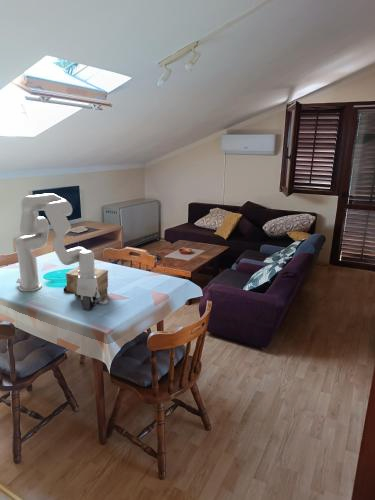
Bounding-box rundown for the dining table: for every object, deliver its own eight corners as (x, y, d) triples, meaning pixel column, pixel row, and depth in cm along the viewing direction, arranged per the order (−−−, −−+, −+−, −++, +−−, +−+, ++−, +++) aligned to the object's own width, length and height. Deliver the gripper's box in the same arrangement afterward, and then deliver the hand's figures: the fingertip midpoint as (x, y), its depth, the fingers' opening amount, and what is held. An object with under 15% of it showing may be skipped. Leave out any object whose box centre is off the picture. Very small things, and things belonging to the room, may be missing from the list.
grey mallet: (83, 308, 187) (82, 296, 185) (96, 299, 199) (95, 287, 197) (89, 310, 186) (89, 297, 184) (102, 300, 198) (102, 288, 196)
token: (97, 304, 195) (96, 301, 194) (102, 300, 199) (102, 298, 199) (104, 306, 193) (104, 303, 193) (110, 302, 198) (109, 299, 197)
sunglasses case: (75, 294, 205) (70, 284, 205) (67, 298, 208) (61, 288, 208) (93, 283, 221) (88, 274, 221) (85, 287, 224) (80, 277, 224)
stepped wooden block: (67, 298, 200) (65, 273, 195) (80, 289, 212) (79, 266, 207) (96, 304, 195) (95, 278, 190) (108, 294, 207) (108, 270, 202)
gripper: (68, 274, 182) (70, 307, 187) (97, 279, 177) (99, 312, 183) (77, 269, 189) (78, 301, 194) (105, 274, 184) (106, 306, 190)
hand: (88, 306), depth 189 cm, fingers closed on grey mallet, 4 cm apart
